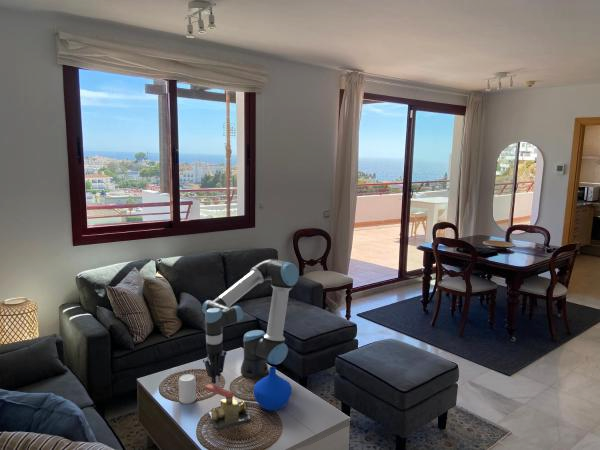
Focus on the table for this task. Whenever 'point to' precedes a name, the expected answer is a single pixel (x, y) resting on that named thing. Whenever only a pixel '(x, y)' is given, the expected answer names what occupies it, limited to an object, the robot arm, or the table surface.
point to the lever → (219, 391)
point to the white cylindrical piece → (187, 388)
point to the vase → (272, 391)
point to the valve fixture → (229, 413)
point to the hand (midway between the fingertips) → (215, 388)
